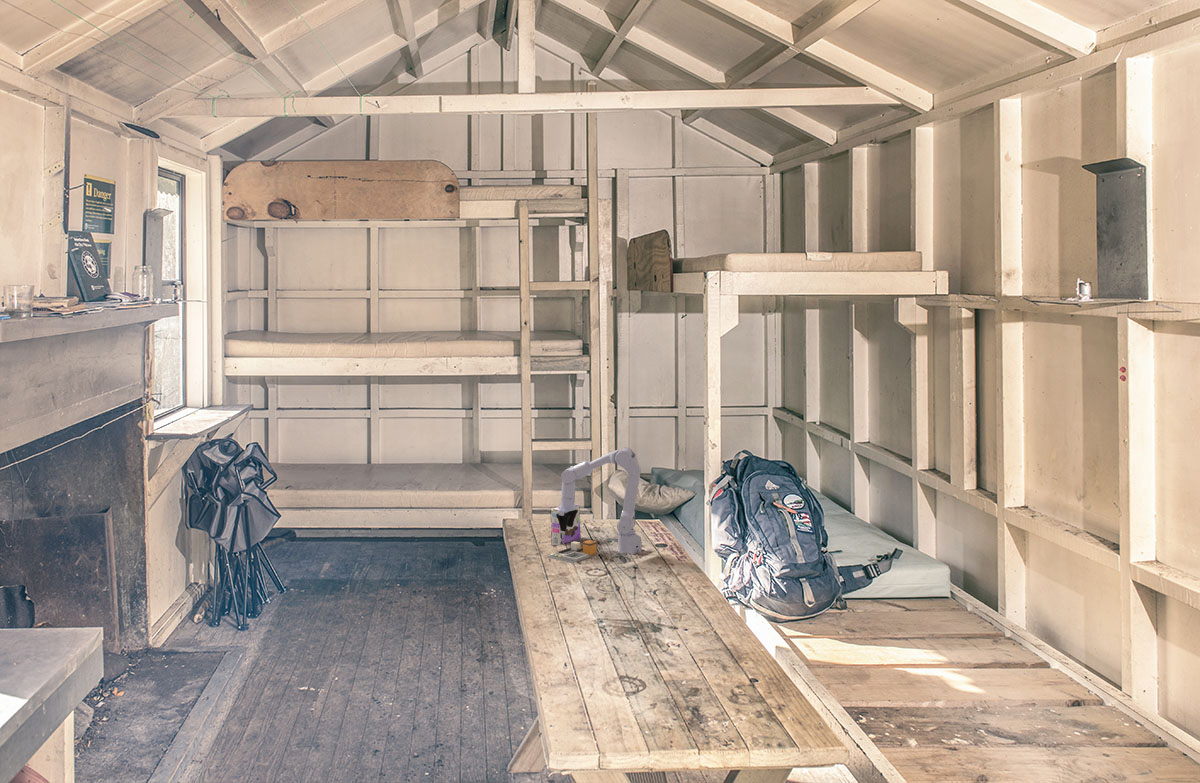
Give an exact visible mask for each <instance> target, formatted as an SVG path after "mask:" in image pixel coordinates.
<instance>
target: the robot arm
mask: <svg viewBox="0 0 1200 783" xmlns="http://www.w3.org/2000/svg"><path fill="white" fill-rule="evenodd" d="M609 463H610V464H614V465H615V464H617V465H618V466H620V467H621V468H622V469H624V470H625V472H626V473H627V474H628V476H627V482H626V487H625V495H624V499H623V505H622V506H623V507H622V511H621V515H620V518H619V521H618V522H617V525H616V530H617V542H618V543H617V544H618V550H617V551H618V552H619V553H621V554H629V555H635V554H638V553H640V552H642V549H643V548H642V543H643V542H642V538H641V536H640V535H639V534H637V533H636V530H635V526H636V523H637V522H636V519H635V516H636V515H635V514H636V512H635V508H636V504H637V503H636V502H637V495H638V490H639V483H640V480H641V479H640V478H641V470H642V469H641V466H640V463H639V461H638V459H637V455H636V453H635V452H634V451H633V450H632V449H631V448H629V447H623V448H622V447H621V449H616V450H613V451H610V452H608V453H606V454H603V455H602V456H600V457H598V458H595V459H594V460H591V461H588V460H581V461H579V463H578V464H576V465H574V466H573V465H571V466H570V467H568V468H566V469H565V470H564V471H562V472H561V475H560V480H561V496H560V497H561V498H560V505H558V506H557V507H558V508H560V510H559V513H558V514H556V517H557V518H558V521H559V525H560V530H561V531H566V528H567V527H572V526H573V523H574V519H575V517H576V514H577V513H578V510H575V509H576V504H577V503H575V501H576V480H579V479H582V478H584V477H586V476H588V475H590V474H592V473H593V470H595V469H597V468H599V467H602V466H604V465H606V464H609Z"/></svg>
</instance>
